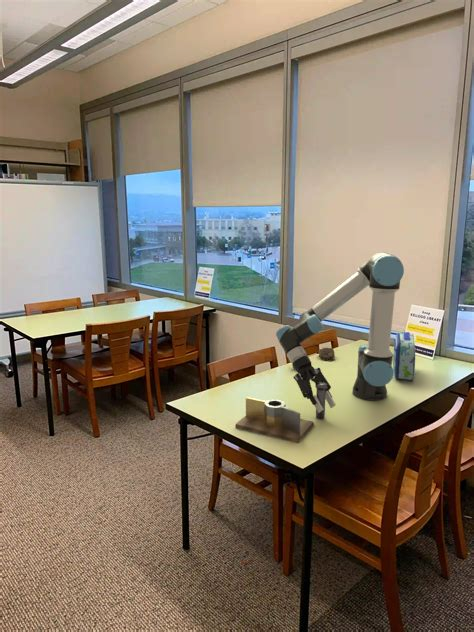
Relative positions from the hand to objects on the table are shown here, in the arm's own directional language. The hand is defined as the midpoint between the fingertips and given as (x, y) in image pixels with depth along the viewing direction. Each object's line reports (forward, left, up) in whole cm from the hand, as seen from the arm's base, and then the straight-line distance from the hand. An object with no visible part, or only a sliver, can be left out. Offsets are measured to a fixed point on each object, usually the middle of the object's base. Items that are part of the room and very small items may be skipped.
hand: (327, 408), depth 177 cm
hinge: (+17, +15, -3) cm, 23 cm away
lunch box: (-18, -71, -5) cm, 73 cm away
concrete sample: (+26, -79, -5) cm, 84 cm away
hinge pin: (+3, -2, -5) cm, 6 cm away
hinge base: (+16, +14, -5) cm, 22 cm away
